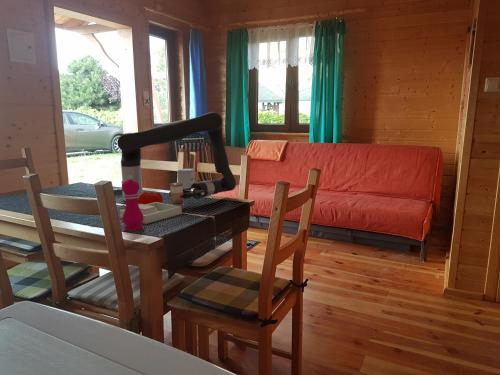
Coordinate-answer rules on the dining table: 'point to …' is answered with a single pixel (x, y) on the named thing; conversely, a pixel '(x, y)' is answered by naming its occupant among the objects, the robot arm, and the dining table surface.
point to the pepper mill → (132, 205)
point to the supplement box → (186, 177)
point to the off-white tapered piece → (147, 209)
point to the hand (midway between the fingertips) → (176, 195)
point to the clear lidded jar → (177, 194)
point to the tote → (159, 212)
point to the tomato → (150, 198)
